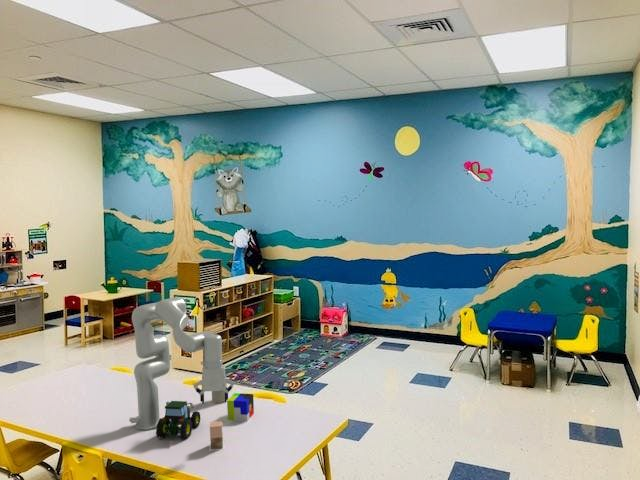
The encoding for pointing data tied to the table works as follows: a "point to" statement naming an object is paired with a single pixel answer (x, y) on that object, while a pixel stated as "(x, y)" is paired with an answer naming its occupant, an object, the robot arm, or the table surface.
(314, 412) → the table surface
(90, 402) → the table surface
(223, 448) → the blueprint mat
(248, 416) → the puzzle toy
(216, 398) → the travel mug
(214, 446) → the walnut block
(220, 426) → the terracotta block
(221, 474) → the table surface
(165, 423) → the toy tractor
